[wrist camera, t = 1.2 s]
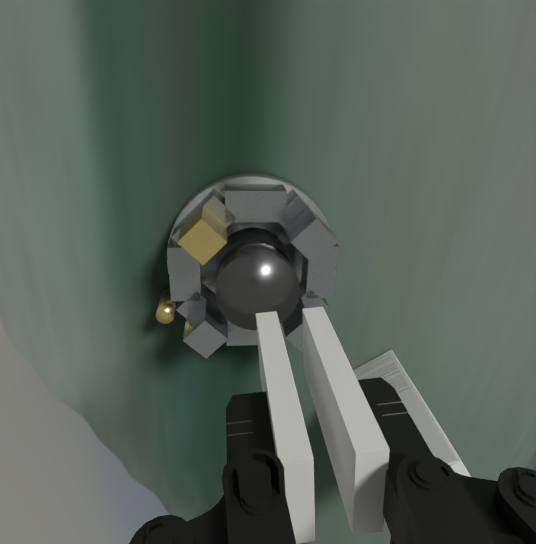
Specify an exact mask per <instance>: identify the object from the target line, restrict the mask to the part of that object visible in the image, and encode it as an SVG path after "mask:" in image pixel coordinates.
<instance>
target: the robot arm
mask: <svg viewBox="0 0 536 544" xmlns="http://www.w3.org/2000/svg"><path fill="white" fill-rule="evenodd" d="M302 315H303V354H304V372H305V376H306V379H307V383H308V386H309V389H310V393H311V396H312V400H313V403H314V406H315V410H316V413H317V416H318V420H319V423H320V427H321V430H322V433H323V437H324V440H325V444H326V447H327V450H328V454H329V457H330V460H331V464H332V467H333V471H334V474H335V477H336V481H337V484H338V488H339V491H340V494H341V498H342V501H343V505H344V508H345V511H346V515H347V518H348V521H349V525H350V528H351V532H352V535H360V534H368V533H375V532H382V531H383V524H384V518H385V520H386V523H387V526H388V528H389V531H390V533H391V541H390V544H536V471H534V470H532V469H527V468H521V467H515V468H508V469H506V470H505V471H503V472H502V473H500V476H499V478H498V481H492V480H486V479H479V478H473V477H468V476H464V475H461V474H458V473H456V472H454V470H453V469H452V468H451V467H450V465H448V464H447V463H445V462H444V461H443V460H441V459H440V458H437V457H435V456H434V455H433V454H432V452H431V451H430V449H429V447H428V445H427V444H426V442H425V440H424V438H423V437H422V435H421V433H420V432H419V430H418V428H417V426H416V425H415V423H414V421H413V419H412V418H411V416H410V414H408V411H407V409H406V407H405V406H404V404H403V403H402V400H401V399H400V397H399V395H398V393H397V392H396V390H395V388H394V387H393V386H392V385H390V384H389V383H388V382H386V381H385V380H384V379H383V378H381V377H378V378H370V379H361V380H357V378H356V376H355V374H354V372H353V370H352V367H351V365H350V363H349V361H348V359H347V357H346V355H345V352H344V350H343V348H342V346H341V344H340V342H339V340H338V337H337V335H336V333H335V331H334V329H333V327H332V325H331V323H330V320H329V318H328V316H327V314H326V312H325V310H324V308H323V307H314V308H304V309H302ZM256 325H257V338H258V351H259V364H260V376H261V383H262V390H263V392H257V393H248V394H240V395H233V396H232V398H231V400H230V402H229V404H228V406H227V407H226V424H227V425H226V432H227V464H226V465H225V467H224V469H223V475H222V482H223V489H224V495H223V497H222V498H221V500H220V501H219V503H218V504H217V505H215V506H214V507H213V508H212V509H211V510H209V511H208V512H206V513H204V514H203V515H201V516H198V517H196V518H194V519H192V520H190V521H188V522H186V521H185V520H184V519H183V518H181V517H177V516H173V515H166V516H159V517H157V518H154V519H152V520H150V521H148V522H146V523H145V524H144V525H143V526H142V527H141V528H140V529H139V530H138V531H137V532H136V533H135V535H134V537H133V538H132V540H131V542H130V543H129V544H297V543H304V542H311V541H315V506H314V458H313V454H312V450H311V446H310V442H309V438H308V434H307V430H306V426H305V422H304V418H303V414H302V410H301V406H300V402H299V398H298V394H297V390H296V386H295V382H294V378H293V374H292V370H291V366H290V362H289V358H288V355H287V351H286V347H285V343H284V339H283V335H282V331H281V327H280V323H279V319H278V315H277V311H274V312H264V313H256Z"/></svg>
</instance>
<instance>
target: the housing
mask: <svg viewBox="0 0 536 544" xmlns="http://www.w3.org/2000/svg"><path fill="white" fill-rule="evenodd" d="M225 184H283V186H284V187H285V189H286V190H287V194H288V193H289V192H290V191H291V190H292V189H293V190H294V191H295V192H296V193H297V194H298V195H299V196H300V197H301V198H302V199H303V200H304V201H305V202H306V204H307V205H308V206H309V207H310V208H311V209H312V210H313V211H314V212H315V213H316V214H317V215H318V216H319V217H320V219H321V220H322V221H323V222H324V223H325V224H326V225H327V226H328V227H329V225H328V223H327V220H326V219H325V217H324V215H323V214H322V212H321V211H320V209H319V208H318V207H317V206H316V204H315V203H314V202H313V201H312V199H311V198H310V197H309V196H308V195H307V194H306V193H305V192H304V191H303V190H302V189H300V188H299V187H297V186H296V185H295V184H293V183H291V182H289V181H287V180H285V179H283V178H281V177H278V176H275V175H272V174H267V173H262V172H240V173H234V174H229V175H226V176H223V177H220V178H218V179H216V180H214V181H212V182H209V183H208V184H206V185H205V186H203V187H202V188H200V189H199V190H198V191H197V192H196V193H194V194H193V195H192V196H191V197H190V198H189V200H188V201H187V202H186V203H185V204H184V206H183V207H182V209H181V210H180V212H179V214H178V216H177V218H176V220H175V222H174V225H173V228H172V232H171V235H170V238H171V237H172V234H173V231H174V228H175V227H176V226H177V225H178V224H179V223H180V222H181V221H182V220H183V219H184V218H185V217H186V216H187V215H188V214H189V213H190V212H191V211H192V210H193V209H194V208H195V207H196V206H197V205H198V204H199V203H200V202H201V201H202V200H203V199H204V198H205V197H206V196H207V195H208V194H209V193H210V192H211V191H212V190H213V189H214V188H215V189H216V190H217V191H218V192H219V193H220V194H221V195H222V196H223V197H224V198H225ZM329 228H330V227H329ZM170 238H169V241H170ZM168 244H169V242H168ZM302 260H303V254H302V253H301V252H300V251H299V250H298V249H297V248H296V247H295V246H294V245H293V244H292V243H291V242H290V239H289V237H288V235H287V233H286V231H285V228H284V227H283V226H282V225H281V224H280V223H279V222H232V223H231V224H230V225H229V226H228V227H227V243H226V244H225V245H224V246H223V247H222V248H221V249H220V250H219V251H218V252H217V253H216V254H215V255H214V256H213V257H212V258H211V259H210V260H208V261H207V262H206V263H205V264H204V265H202V264H201V266H202V283H203V284H204V285H206V286H207V287H208V288H209V289H210V290H211V291H213V292H214V293H215V294H216V301H217V305H218V307H219V310H220V311H221V313H222V314H223V316H224V317H225V318H226V319H227V320H228V321H229V322H231V323H232V324H234V325H236V326H238V327H240V328H243V329H247V330H257V325H256V313H264V312H274V311H277V315H278V319H279V323H280V324H281V323H282V322H284V321H285V320H286V319H287V318H288V317H289V316H290V315H291V314H292V313H293V312H294V310H295V308H296V306H297V304H298V301H299V297H300V285H299V282H300V281H301V275H302ZM167 266H168V273H169V264H168V250H167Z"/></svg>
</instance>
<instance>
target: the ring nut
mask: <svg viewBox="0 0 536 544" xmlns="http://www.w3.org/2000/svg"><path fill="white" fill-rule="evenodd" d="M232 222H279V223H280V224H281V225H282V226H283V227H284V228H285V231H286V233H287V235H288V237H289V239H290V242H291V243H292V244H293V245H294V246H295V247H296V248H297V249H298V250H299V251H300V252H301V253H302V254H303V260H302V275H301V281H300V282H299V285H300V297H299V301H298V304H297V306H296V308H295V310H294V312H293V313H292V314H291V315H290V316H289V317H288V318H287V319H286V320H285V321H284V322H282V323H281V324H280V327H281V331H282V335H283V336H284V337H285V338H287V339H288V340H289V341H290V342H291V343H292V344H293V345H295V346H296V347H297V348H298V349H299V350H300V351H301V352H303V315H302V309H304V308H314V307H323V308H324V310H326V309H327V308H328V307H329V306H328V304H327V302H326V300H325V298H334V292H335V282H336V272H337V263H338V253H339V246H338V244H337V242H338V241H337V240H336V238H335V237H336V236H335V235H334V234H333V232H332V231H331V230H330V228H329V227H328V226H327V225H326V224H325V223H324V222H323V221H322V220H321V219H320V217H319V216H318V215H317V214H316V213H315V212H314V211H313V210H312V209H311V208H310V207H309V206H308V205H307V204H306V202H305V201H304V200H303V199H302V198H301V197H300V196H299V195H298V194H297V193H296V192H295V191H294V190H293V189H292V190H291V191H290V192H289V193H288V194H287V190H286V189H285V187H284V186H283V184H225V198H224V197H223V196H222V195H221V194H220V193H219V192H218V191H217V190H216V189H215V188H214V189H213V190H212V191H211V192H210V193H209V194H208V195H207V196H206V197H205V198H204V199H203V200H202V201H201V202H200V203H199V204H198V205H197V206H196V207H195V208H194V209H193V210H192V211H191V212H190V213H189V214H188V215H187V216H186V217H185V218H184V219H183V220H182V221H181V222H180V223H179V224H178V225H177V226H176V227H175V228H174V231H173V234H172V237H171V238H170V241H169V244H168V247H167V250H168V264H169V279H170V293H171V301H178V302H177V307H176V311H178V312H179V313H180V314H181V315H183V316H184V317H185V318H186V322H185V329H184V336H183V341H184V342H185V343H186V344H188V345H189V346H190V347H192V348H193V349H194V350H196V351H197V352H198V353H199V354H201V355H202V356H203V357H205V358H208V357H209V356H210V355H211V354H212V353H213V352H214V351H215V350H217V349H218V348H219V347H220V346H221V345H222V344H223V343H225V342H226V345H227V346H239V345H258V338H257V330H247V329H243V328H240V327H238V326H236V325H234V324H232V323H231V322H229V321H228V320H227V319H226V318H225V317H224V316H223V314H222V313H221V311H220V310H219V307H218V305H217V301H216V294H215V293H214V292H213V291H211V290H210V289H209V288H208V287H207V286H206V285H204V284H203V283H202V266H201V264H202V265H204V264H205V263H206V262H207V261H208V260H210V259H211V258H212V257H213V256H214V255H215V254H216V253H217V252H218V251H219V250H220V249H221V248H222V247H223V246H224V245H225V244H226V243H227V227H228V226H229V225H230V224H231V223H232Z"/></svg>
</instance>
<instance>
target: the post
mask: <svg viewBox="0 0 536 544" xmlns="http://www.w3.org/2000/svg"><path fill="white" fill-rule="evenodd" d="M176 305H177V301H171V293H170V288H167V289H164V290H163V291H162V294H161V297H160V301H159V304H158V308H157V312H156V319H157V320H158V321H159V322H160V323H164V324H167V323H170V322H171V321H172V320H173V319H174V315H175V310H176Z"/></svg>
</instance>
